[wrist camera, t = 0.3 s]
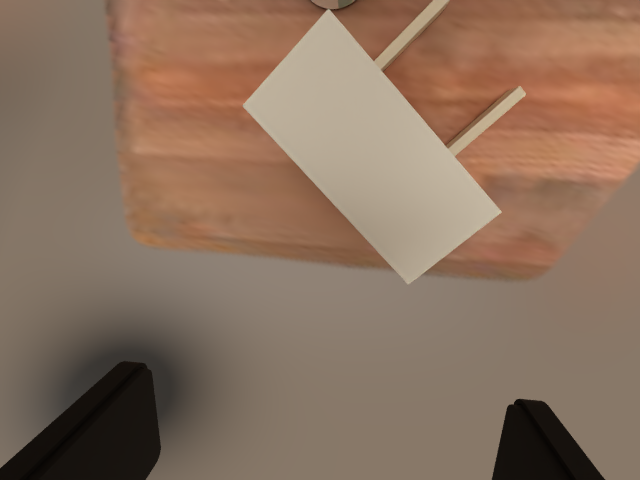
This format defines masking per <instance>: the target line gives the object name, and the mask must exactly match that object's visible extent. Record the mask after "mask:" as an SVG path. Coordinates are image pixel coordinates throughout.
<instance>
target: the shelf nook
mask: <svg viewBox="0 0 640 480" xmlns="http://www.w3.org/2000/svg"><path fill="white" fill-rule="evenodd" d="M449 1H450V0H433V1H432V2H431V3H430V4H429V5H428V6H427V7H426V8H425V9H424V10H423V11H422V12H421V13H420V14H419V15H418V16H417V18H416V19H415V20H414V21H413V22H412V23H411V24H410V25H409V26H408V27H407V28H406V29H405V30H404V31H403V32H402V33H401V34H400V35H399V36H398V37H397V38H396V39H395V40H394V41H393V42H392V43H391V44H390V45H389V46H388V47H387V48H386V49H385V50H384V51H383V52H382V53H381V54H380V55H379V56H378V57H377V59H376V60H375V61H373V60H372V59H371V58H370V57H369V55H368V54H367V53H366V52H365V51H364V49H363V48H362V47H361V46H360V45H359V44H358V42H357V41H356V40H355V39H354V38H353V37H352V35H351V34H350V33H349V32H348V31H347V29H346V28H345V27H344V26H343V25H342V24H341V22H340V21H339V20H338V19H337V18H336V17H335V15H334V14H333V13H332V12H331V11H330V9H328V10H327V11H326V12H325V13H324V14H323V15H322V16H321V18H320V19H319V20H318V21H317V22H316V23H315V24H314V25H313V27H312V28H311V29H310V30H309V31H308V32H307V33H306V34H305V36H304V37H303V38H302V39H301V40H300V41H299V42H298V43H297V45H296V46H295V47H294V48H293V49H292V50H291V51H290V53H289V54H288V55H287V56H286V57H285V58H284V59H283V60H282V62H281V63H280V64H279V65H278V66H277V67H276V68H275V69H274V71H273V72H272V73H271V74H270V75H269V76H268V77H267V78H266V80H265V81H264V82H263V83H262V84H261V85H260V86H259V87H258V89H257V90H256V91H255V92H254V93H253V94H252V95H251V97H250V98H249V99H248V100H247V101H246V102H245V103H244V104H243V107H244V108H245V109H246V110H247V111H248V113H249V114H250V115H251V116H252V117H253V118H254V119H255V120H256V121H257V122H258V123H259V124H260V125H261V127H262V128H263V129H264V130H265V131H266V132H267V133H268V134H269V135H270V136H271V137H272V138H273V139H274V141H275V142H276V143H277V144H278V145H279V146H280V147H281V148H282V149H283V150H284V151H285V152H286V154H287V155H288V156H289V157H290V158H291V159H292V160H293V161H294V162H295V163H296V164H297V165H298V166H299V168H300V169H301V170H302V171H303V172H304V173H305V174H306V175H307V176H308V177H309V178H310V179H311V180H312V182H313V183H314V184H315V185H316V186H317V187H318V188H319V189H320V190H321V191H322V192H323V193H324V194H325V196H326V197H327V198H328V199H329V200H330V201H331V202H332V203H333V204H334V205H335V206H336V207H337V208H338V210H339V211H340V212H341V213H342V214H343V215H344V216H345V217H346V218H347V219H348V220H349V221H350V222H351V224H352V225H353V226H354V227H355V228H356V229H357V230H358V231H359V232H360V233H361V234H362V235H363V236H364V238H365V239H366V240H367V241H368V242H369V243H370V244H371V245H372V246H373V247H374V248H375V249H376V251H377V252H378V253H379V254H380V255H381V256H382V257H383V258H384V259H385V260H386V261H387V262H388V263H389V265H390V266H391V267H392V268H393V269H394V270H395V271H396V272H397V273H398V274H399V275H400V276H401V277H402V279H403V280H404V281H405V282H406V283H407V284H408V285H409V284H410V283H411V282H412V281H414V280H415V279H416V278H418V277H419V276H420V275H421V274H423V273H424V272H425V271H427V270H428V269H429V268H430V267H432V266H433V265H434V264H436V263H437V262H438V261H439V260H441V259H442V258H443V257H445V256H446V255H447V254H449V253H450V252H451V251H452V250H454V249H455V248H456V247H458V246H459V245H460V244H461V243H463V242H464V241H465V240H467V239H468V238H469V237H470V236H472V235H473V234H474V233H476V232H477V231H478V230H479V229H481V228H482V227H483V226H485V225H486V224H487V223H488V222H490V221H491V220H492V219H494V218H495V217H496V216H497V215H499V214H500V213H501V211H500V209H499V208H498V207H497V206H496V205H495V204H494V202H493V201H492V200H491V199H490V198H489V196H488V195H487V194H486V193H485V192H484V191H483V189H482V188H481V187H480V186H479V185H478V184H477V182H476V181H475V180H474V179H473V178H472V176H471V175H470V174H469V173H468V172H467V171H466V169H465V168H464V167H463V166H462V165H461V164H460V162H459V161H458V160H457V159H456V158H455V156H456V155H457V154H458V153H459V152H460V151H461V150H463V149H464V148H465V147H466V146H467V145H468V144H469V143H471V142H472V141H473V140H474V139H475V138H476V137H478V136H479V135H480V134H481V133H482V132H483V131H485V130H486V129H487V128H488V127H489V126H490V125H492V124H493V123H494V122H495V121H496V120H497V119H498V118H500V117H501V116H502V115H503V114H504V113H505V112H507V111H508V110H509V109H510V108H511V107H512V106H514V105H515V104H516V103H517V102H518V101H519V100H521V99H522V98H523V97H524V96H525V95H526V93H525V92H524V91H523V89H522V88H521V87H520V86H519V87H516V88H514V89H511V90H509V91H507V92H506V93H505V94H504V95H503V96H502V97H500V98H499V99H498V100H497V101H496V102H495V103H494V104H492V105H491V106H490V107H489V108H488V109H487V110H486V111H484V112H483V113H482V114H481V115H480V116H479V117H478V118H476V119H475V120H474V121H473V122H472V123H471V124H470V125H469V126H467V127H466V128H465V129H464V130H463V131H462V132H461V133H459V134H458V135H457V136H456V137H455V138H454V139H453V140H451V141H450V142H449V143H448V144H447V145H446V146H445V145H444V144H443V142H442V141H441V140H440V139H439V138H438V136H437V135H436V134H435V133H434V132H433V131H432V129H431V128H430V127H429V126H428V125H427V124H426V122H425V121H424V120H423V119H422V118H421V116H420V115H419V114H418V113H417V112H416V111H415V109H414V108H413V107H412V106H411V105H410V104H409V102H408V101H407V100H406V99H405V98H404V96H403V95H402V94H401V93H400V92H399V91H398V89H397V88H396V87H395V86H394V85H393V84H392V82H391V81H390V80H389V79H388V78H387V76H386V75H385V74H384V73H383V71H384V70H385V69H386V68H387V67H388V66H389V65H390V64H391V63H392V62H393V61H394V60H395V59H396V58H397V57H398V56H399V55H400V54H401V53H402V52H403V51H404V50H405V49H406V48H407V47H408V46H409V45H410V44H411V43H412V42H413V41H414V40H415V39H416V38H417V37H418V36H419V35H420V34H421V33H422V32H423V31H424V30H425V29H426V28H427V27H428V26H429V25H430V24H431V23H432V22H433V21H434V20H435V19H436V18H437V17H438V16H439V15H440V14H441V13H442V12H443V11H444V9H445V7H446V6H447V4H448V3H449Z"/></svg>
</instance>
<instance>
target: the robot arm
mask: <svg viewBox="0 0 640 480" xmlns="http://www.w3.org/2000/svg"><path fill="white" fill-rule="evenodd" d="M160 450H161V445H160V436H159V428H158V420H157V412H156V403H155V395H154V386H153V378H152V372H151V370H149V369H147V366H146V365H145V364H144V363H137V362H128V361H123V362H120V363H119V364H117V365H116V366H115V367H114V368H113V369H112V370H111V371H109V372H108V373H107V374H106V375H105V376H104V377H103V378H102V379H100V380H99V381H98V382H97V383H96V384H95V385H94V386H93V387H91V388H90V389H89V390H88V391H87V392H86V393H85V394H84V395H82V396H81V397H80V398H79V399H78V400H77V401H76V402H75V403H74V404H72V405H71V406H70V407H69V408H68V409H67V410H66V411H64V412H63V413H62V414H61V415H60V416H59V417H58V418H57V419H55V420H54V421H53V422H52V423H51V424H50V425H49V426H48V427H46V428H45V429H44V430H43V431H42V432H41V433H40V434H38V435H37V436H36V437H35V438H34V439H33V440H32V441H31V442H30V443H28V444H27V445H26V446H25V447H24V448H23V449H22V450H20V451H19V452H18V453H17V454H16V455H15V456H14V457H13V458H11V459H10V460H9V461H8V462H7V463H6V464H5V465H3V466H2V467H1V468H0V480H146V478H147V477H148V475H149V474H150V472H151V470H152V469H153V467H154V466H155V464H156V462H157V461H158V458H159V455H160ZM492 480H605V479H604V478H603V477H602V475H601V474H600V473H599V472H598V470H597V469H596V467H595V466H594V465H593V464H592V462H591V461H590V460H589V458H588V457H587V456H586V454H585V453H584V452H583V450H582V449H581V448H580V447H579V445H578V444H577V443H576V441H575V440H574V439H573V437H572V436H571V435H570V433H569V432H568V431H567V430H566V428H565V427H564V426H563V424H562V423H561V422H560V420H559V419H558V418H557V416H556V415H555V414H554V413H553V411H552V410H551V409H550V407H549V406H548V405H547V404H546V403H545V402H543V401H536V400H525V399H517V400H516V401H515V402H514V405H509V406H508V407H507V411H506V415H505V420H504V425H503V430H502V434H501V439H500V444H499V448H498V453H497V458H496V462H495V467H494V472H493V477H492Z"/></svg>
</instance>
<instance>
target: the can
mask: <svg viewBox="0 0 640 480" xmlns="http://www.w3.org/2000/svg"><path fill="white" fill-rule="evenodd" d="M311 1H312V2H313V3H315V4H316V5H318V6H320V7H323V8H327V9H339V8H343V7H345V6H347V5H349V4H351V3H352V2H354V1H355V0H311Z"/></svg>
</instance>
